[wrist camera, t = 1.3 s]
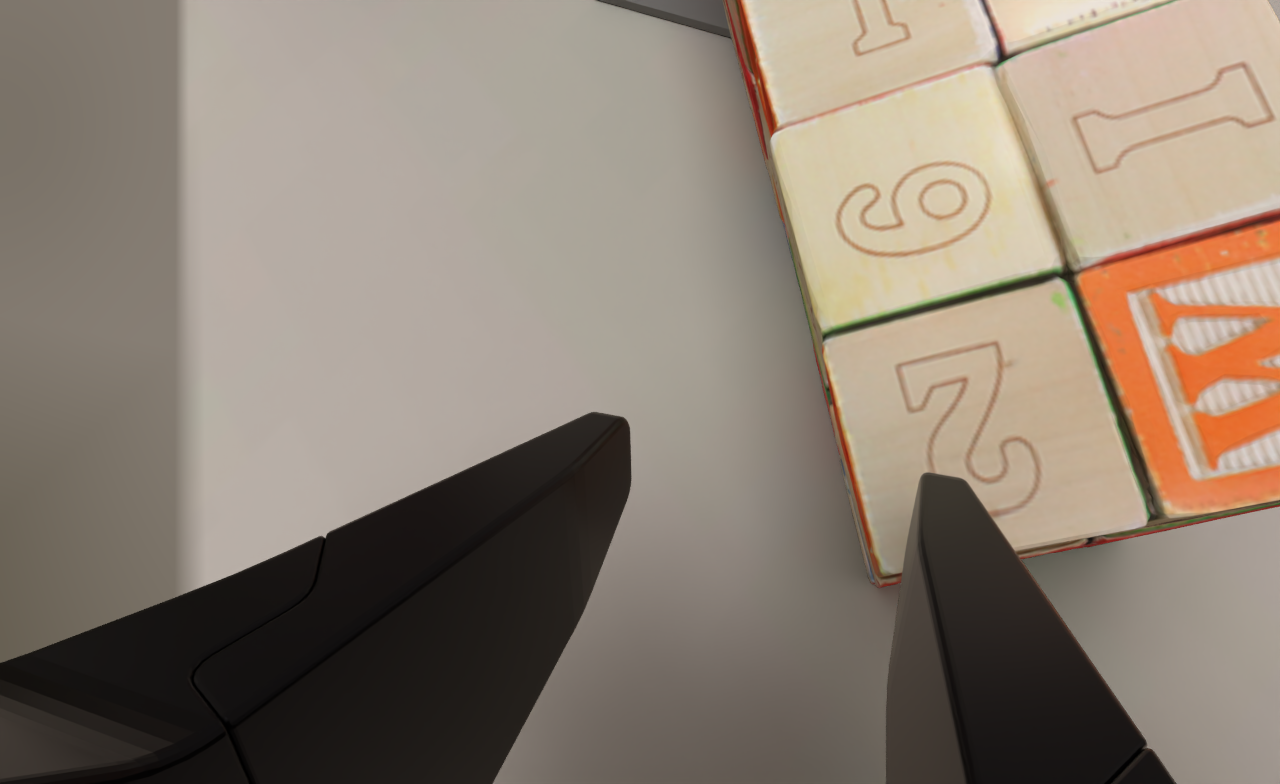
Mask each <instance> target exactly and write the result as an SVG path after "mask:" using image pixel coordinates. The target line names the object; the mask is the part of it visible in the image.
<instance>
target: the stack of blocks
mask: <svg viewBox="0 0 1280 784" xmlns="http://www.w3.org/2000/svg"><path fill="white" fill-rule="evenodd" d="M722 1H723V5H724V9H725V14H726V18H727V22H728V26H729V30H730V34H731V37H732V41H733V45H734V48H735V52H736V56H737V59H738V63H739V67H740V70H741V74H742V78H743V82H744V85H745V89H746V93H747V96H748V100H749V104H750V108H751V110H752V112H753V116H754V120H755V124H756V128H757V132H758V136H759V140H760V144H761V148H762V151H763V155H764V159H765V164H766V168H767V170H768V172H769V176H770V180H771V184H772V188H773V191H774V195H775V199H776V203H777V207H778V211H779V214H780V218H781V219H782V221H783V224H784V228H785V233H786V237H787V241H788V245H789V249H790V252H791V256H792V260H793V263H794V267H795V271H796V275H797V279H798V283H799V287H800V290H801V294H802V299H803V304H804V308H805V312H806V316H807V320H808V324H809V328H810V332H811V336H812V340H813V346H814V352H815V357H816V362H817V366H818V370H819V374H820V378H821V382H822V387H823V391H824V395H825V399H826V403H827V407H828V411H829V415H830V419H831V423H832V427H833V431H834V435H835V439H836V444H837V447H838V451H839V455H840V465H841V469H842V473H843V477H844V481H845V485H846V489H847V493H848V497H849V501H850V505H851V510H852V514H853V518H854V522H855V526H856V530H857V534H858V538H859V542H860V546H861V550H862V554H863V558H864V562H865V566H866V570H867V574H868V578H869V580H870V583H871V584H876V586H877V587H878V588H881V587H885V586H890V585H894V584H898V583H901V578H902V571H903V564H904V557H905V550H906V544H907V538H908V533H909V528H910V523H911V518H912V513H913V508H914V503H915V498H916V493H917V488H918V484H919V480H920V477H921V475H922V474H923V473H926V472H930V473H936V474H942V475H947V476H953V477H959V478H962V479H964V480H965V481H967V482H968V484H969V485H970V487H971V488H972V489H973V491H974V492H975V494H976V495H977V497H978V498H979V500H980V501H981V502H982V504H983V505H984V507H985V508H986V510H987V511H988V513H989V514H990V515H991V517H992V518H993V520H994V521H995V523H996V524H997V526H998V527H999V528H1000V530H1001V531H1002V533H1003V534H1004V536H1005V537H1006V539H1007V540H1008V541H1009V543H1010V544H1011V546H1012V547H1013V549H1014V550H1015V552H1016V553H1017V554H1018V556H1019V557H1020V559H1025V558H1030V557H1035V556H1039V555H1043V554H1049V553H1056V552H1062V551H1067V550H1071V549H1076V548H1083V547H1092V546H1096V545H1100V544H1105V543H1109V542H1114V541H1119V540H1124V539H1128V538H1133V537H1138V536H1143V535H1148V534H1152V533H1157V532H1162V531H1167V530H1171V529H1176V528H1180V527H1185V526H1189V525H1194V524H1199V523H1203V522H1208V521H1212V520H1217V519H1221V518H1226V517H1231V516H1236V515H1241V514H1245V513H1250V512H1255V511H1260V510H1264V509H1269V508H1274V507H1279V506H1280V21H1279V19H1278V17H1277V16H1276V14H1275V12H1274V10H1273V8H1272V7H1271V5H1270V3H1269V1H1268V0H722Z"/></svg>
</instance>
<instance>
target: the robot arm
mask: <svg viewBox="0 0 1280 784" xmlns="http://www.w3.org/2000/svg"><path fill="white" fill-rule="evenodd" d="M630 487H631V445H630V427H629V424H628V421H627V420H626V419H625V418H624V417H620V416H615V415H609V414H604V413H598V412H591V413H589V414H586V415H584V416H582V417H580V418H577V419H575V420H573V421H571V422H569V423H567V424H564V425H562V426H560V427H558V428H556V429H553V430H551V431H549V432H547V433H545V434H542V435H540V436H538V437H536V438H534V439H532V440H529V441H527V442H525V443H523V444H521V445H518V446H516V447H514V448H512V449H510V450H508V451H505V452H503V453H501V454H499V455H497V456H494V457H492V458H490V459H488V460H486V461H483V462H481V463H479V464H477V465H475V466H473V467H470V468H468V469H466V470H464V471H462V472H459V473H457V474H455V475H453V476H451V477H448V478H446V479H444V480H442V481H440V482H438V483H435V484H433V485H431V486H429V487H427V488H424V489H422V490H420V491H418V492H416V493H413V494H411V495H409V496H407V497H405V498H402V499H400V500H398V501H396V502H394V503H392V504H389V505H387V506H385V507H383V508H381V509H378V510H376V511H374V512H372V513H370V514H367V515H365V516H363V517H361V518H359V519H357V520H354V521H352V522H350V523H348V524H346V525H343V526H341V527H339V528H337V529H335V530H332V531H330V532H329V533H327V535H326V539H325V538H324V537H323V536H319V537H317V538H315V539H312V540H310V541H308V542H306V543H304V544H302V545H299V546H297V547H295V548H293V549H291V550H288V551H286V552H284V553H282V554H279V555H277V556H275V557H273V558H270V559H268V560H266V561H263V562H261V563H259V564H256V565H254V566H252V567H250V568H247V569H245V570H243V571H240V572H238V573H236V574H233V575H231V576H228V577H226V578H223V579H221V580H218V581H216V582H213V583H211V584H208V585H206V586H203V587H201V588H198V589H196V590H193V591H191V592H188V593H185V594H183V595H180V596H178V597H175V598H173V599H170V600H168V601H165V602H162V603H160V604H157V605H154V606H152V607H149V608H146V609H144V610H141V611H139V612H136V613H134V614H131V615H128V616H125V617H123V618H121V619H117V620H115V621H112V622H110V623H107V624H105V625H102V626H99V627H97V628H94V629H91V630H89V631H86V632H83V633H81V634H78V635H75V636H73V637H70V638H68V639H65V640H62V641H60V642H57V643H54V644H52V645H49V646H47V647H44V648H42V649H39V650H36V651H33V652H31V653H28V654H25V655H22V656H19V657H17V658H14V659H11V660H8V661H5V662H2V663H0V784H493V782H494V780H495V778H496V776H497V774H498V772H499V770H500V769H501V767H502V765H503V763H504V761H505V759H506V757H507V755H508V754H509V752H510V750H511V748H512V746H513V744H514V742H515V740H516V739H517V737H518V735H519V733H520V731H521V729H522V727H523V725H524V724H525V722H526V720H527V718H528V716H529V714H530V712H531V710H532V709H533V707H534V705H535V703H536V701H537V699H538V697H539V695H540V694H541V692H542V690H543V688H544V686H545V684H546V682H547V680H548V678H549V677H550V675H551V673H552V671H553V669H554V667H555V665H556V663H557V662H558V660H559V658H560V656H561V654H562V652H563V650H564V648H565V647H566V645H567V643H568V641H569V639H570V637H571V635H572V633H573V632H574V630H575V628H576V626H577V624H578V622H579V620H580V618H581V616H582V614H583V612H584V609H585V607H586V605H587V602H588V600H589V597H590V595H591V593H592V590H593V587H594V585H595V582H596V580H597V577H598V574H599V572H600V569H601V567H602V564H603V561H604V559H605V556H606V554H607V551H608V549H609V546H610V543H611V541H612V538H613V536H614V533H615V530H616V528H617V525H618V523H619V520H620V517H621V515H622V512H623V510H624V507H625V504H626V502H627V499H628V496H629V492H630ZM1146 747H1147V742H1146V740H1145V738H1144V737H1143V735H1142V734H1141V732H1140V731H1139V730H1138V728H1137V727H1136V725H1135V724H1134V722H1133V721H1132V719H1131V718H1130V716H1129V715H1128V714H1127V712H1126V711H1125V709H1124V708H1123V706H1122V705H1121V703H1120V702H1119V701H1118V699H1117V698H1116V696H1115V695H1114V693H1113V692H1112V690H1111V689H1110V688H1109V686H1108V685H1107V683H1106V682H1105V680H1104V679H1103V677H1102V676H1101V675H1100V673H1099V672H1098V670H1097V669H1096V667H1095V666H1094V664H1093V663H1092V662H1091V660H1090V659H1089V657H1088V656H1087V654H1086V653H1085V651H1084V650H1083V649H1082V647H1081V646H1080V644H1079V643H1078V641H1077V640H1076V638H1075V637H1074V635H1073V634H1072V633H1071V631H1070V630H1069V628H1068V627H1067V625H1066V624H1065V622H1064V621H1063V620H1062V618H1061V617H1060V615H1059V614H1058V612H1057V611H1056V609H1055V608H1054V607H1053V605H1052V604H1051V602H1050V601H1049V599H1048V598H1047V596H1046V595H1045V594H1044V592H1043V591H1042V589H1041V588H1040V586H1039V585H1038V583H1037V582H1036V581H1035V579H1034V578H1033V576H1032V575H1031V573H1030V572H1029V570H1028V569H1027V568H1026V566H1025V565H1024V563H1023V562H1022V560H1021V559H1020V557H1019V556H1018V554H1017V553H1016V552H1015V550H1014V549H1013V547H1012V546H1011V544H1010V543H1009V541H1008V540H1007V539H1006V537H1005V536H1004V534H1003V533H1002V531H1001V530H1000V528H999V527H998V526H997V524H996V523H995V521H994V520H993V518H992V517H991V515H990V514H989V513H988V511H987V510H986V508H985V507H984V505H983V504H982V502H981V501H980V500H979V498H978V497H977V495H976V494H975V492H974V491H973V489H972V488H971V487H970V485H969V484H968V482H967V481H965V480H964V479H962V478H959V477H953V476H947V475H942V474H936V473H930V472H926V473H923V474H922V475H921V477H920V480H919V484H918V488H917V493H916V498H915V503H914V508H913V513H912V518H911V523H910V528H909V533H908V538H907V544H906V550H905V557H904V564H903V571H902V578H901V585H900V592H899V600H898V607H897V614H896V621H895V628H894V635H893V643H892V650H891V657H890V664H889V674H888V683H887V705H886V784H1176V782H1175V781H1174V779H1173V778H1172V777H1171V775H1170V774H1169V772H1168V771H1167V769H1166V768H1165V766H1164V765H1163V763H1162V762H1161V761H1160V759H1159V758H1158V756H1157V755H1156V753H1155V752H1154V751H1153V750H1151V749H1149V748H1146Z"/></svg>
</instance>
